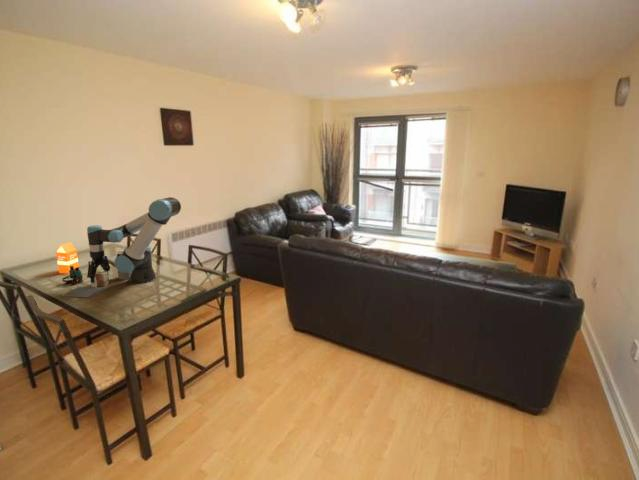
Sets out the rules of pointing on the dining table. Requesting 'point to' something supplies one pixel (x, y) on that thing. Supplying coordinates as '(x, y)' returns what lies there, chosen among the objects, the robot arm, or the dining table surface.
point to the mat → (82, 292)
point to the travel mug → (120, 274)
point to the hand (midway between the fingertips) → (100, 283)
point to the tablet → (112, 258)
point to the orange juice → (66, 257)
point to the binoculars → (74, 276)
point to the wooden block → (101, 278)
